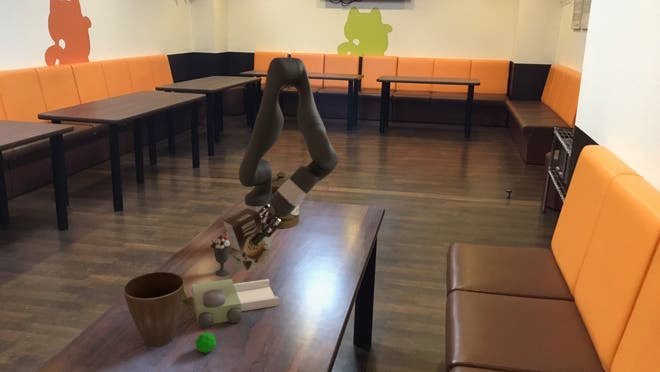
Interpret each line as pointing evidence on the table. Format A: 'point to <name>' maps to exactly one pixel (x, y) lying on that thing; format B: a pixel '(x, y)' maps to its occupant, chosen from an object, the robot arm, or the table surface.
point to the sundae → (221, 253)
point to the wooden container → (294, 215)
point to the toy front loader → (229, 300)
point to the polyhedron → (205, 342)
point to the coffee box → (246, 240)
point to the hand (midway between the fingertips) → (250, 238)
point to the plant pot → (155, 305)
